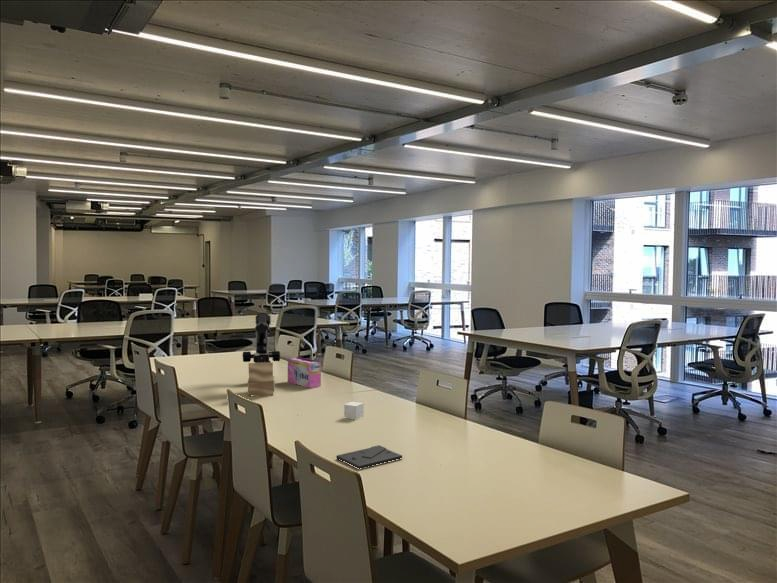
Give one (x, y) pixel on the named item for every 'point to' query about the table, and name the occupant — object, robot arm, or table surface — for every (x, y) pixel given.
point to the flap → (260, 372)
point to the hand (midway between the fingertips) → (261, 370)
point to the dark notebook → (369, 456)
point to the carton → (261, 387)
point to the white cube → (353, 410)
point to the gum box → (304, 372)
